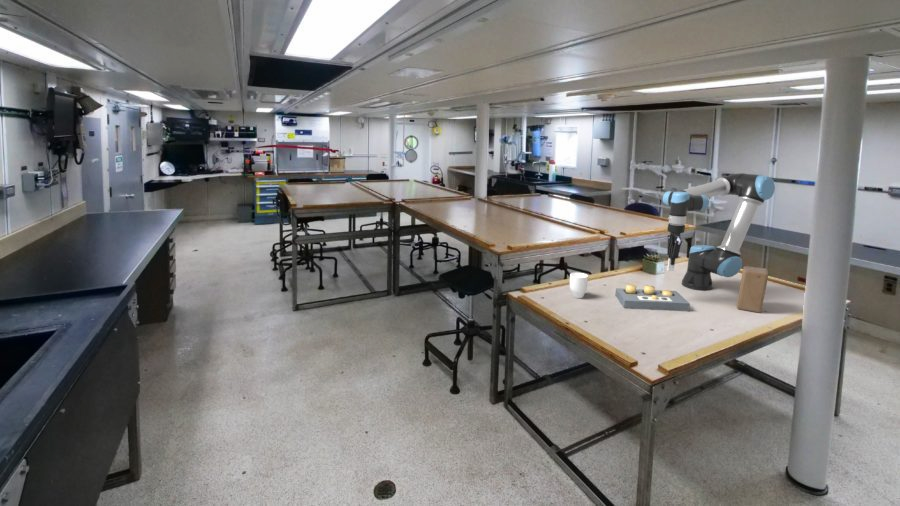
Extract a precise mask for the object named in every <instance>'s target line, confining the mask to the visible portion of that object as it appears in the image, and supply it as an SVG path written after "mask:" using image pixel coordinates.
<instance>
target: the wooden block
mask: <svg viewBox="0 0 900 506" xmlns="http://www.w3.org/2000/svg"><path fill="white" fill-rule="evenodd" d="M742 267H743V268H742V273H741V279H740V284H739V285H740V286H739V290H738V296H737V299H736V300H737V302H736V309H738V310H741V311H747V312H753V313H758V314H759V313H761V312H762V310H763V305H764V299H765V294H766V289H767V283H768V278H769V271H768V269H767V268H764V267H757V266H749V265H745V266H742Z"/></svg>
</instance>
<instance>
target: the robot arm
mask: <svg viewBox="0 0 900 506" xmlns="http://www.w3.org/2000/svg"><path fill="white" fill-rule="evenodd" d="M775 190H776V185H775V182H774V179H773V178H772V177H770V176H768V175H763V174H755V173H753V174H752V173H733V174H729V175H725V176H722V177H719V178H717V179H715V180H714V181H710V182H707V183H704V184H700V185H697V186H692V187H689V188H685V189H682V190H681V189H680V190H678V191H674V190H672V191H671V190H669V191H666V192H665V193H664V194H663V196H662V203H663V204H664V205H665V206H668V207H670V208H669V216H668V217H667V219H668V224H667V232H668V233H670V234H667V253H666V254H667V255H668V258H667V259H668V261H667V268H666V270H667V271H668V272H675V271H674V270H675V266H676V259H678V258H679V253H680V250H681V246H682V243H683V240H681V234H683V233H685V231H686V230H685V229H686V222H687V215H688V212H701V211H705V210H707V209H708V208H709V205H710V200H709V199H710V198H712V197H713V198H714V197H717V196H727V195H733V196H737V199H738V201H739V202H738V203H737V207H736V208H735V211H734V213H733V216H732V218H731V221H730V223H729V225H728V227H727V230H726V232H725V234H724V236H723V240H722V242H721V244H720V245H718V246H716V247H715V246H713V245H707V244H705V245H704V244H700V245H698V244H697V245H692V246H691V247H690V249H689V253H688V260H687V269H686V272H685V274H684V276H683V277H682V280H681V285H682V286H683V287H685V288H687V289H691V290H697V291H709V290H712V289H713V279H712V275H711V274H712V273H713V274H715V275H716V276H717V275H718V276H720V277H725V278H732V277H734V276H736V275H737V274H738V273H740V271H741V269H742V267H743V260H742V258H741V250H740V249H741V247H742V245H743V242H744V240H745V237H746V236H747V233H748V231H749V229H750V226H751V224H752V222H753V220H754V217H755V215H756V212H757V211H758V207H760V206H762V205H764V202H765V201H767V200H770V199H771V198H772V197H773V196H774V193H775Z"/></svg>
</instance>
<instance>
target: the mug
mask: <svg viewBox="0 0 900 506" xmlns="http://www.w3.org/2000/svg"><path fill="white" fill-rule="evenodd" d="M588 277H589V275H588V274H587V273H582V272H571V273H570V274H569V290H570V292H571V295H572V297H573V298H576V299H583V298H584V295H586V292H587V290H588V289H587V288H588V280H589V278H588Z"/></svg>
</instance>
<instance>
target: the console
mask: <svg viewBox="0 0 900 506" xmlns="http://www.w3.org/2000/svg"><path fill="white" fill-rule="evenodd" d="M663 290H664V289H663ZM663 290H662V289H655V290H654V295H656V296H658V297H669V298H670V299H671V300H672V302H669V301H647V300H639V298H638V297H637V296H648V297H652V295H644V288H643V289H641V288H636V293H635V294H626V293H625V292H626V288H621V287H620V288H615V294H614V295H615V297H616V298H617V301H618V302H619V303H620V305H621V306H622V308H623V309H629V310H630V309H631V310H650V311H652V310H655V311H670V312H671V311H674V312H675V311H676V312H690V311H689V310H690V305H691V304H690V302H689V301H688V300H686V298H685V297H684V296H682V294H680V293H679V292H678V291H677V290H671V291H672V292H673V295H672V296H665V295H662V291H663Z"/></svg>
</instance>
